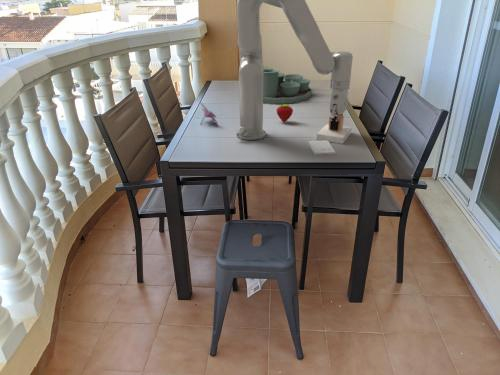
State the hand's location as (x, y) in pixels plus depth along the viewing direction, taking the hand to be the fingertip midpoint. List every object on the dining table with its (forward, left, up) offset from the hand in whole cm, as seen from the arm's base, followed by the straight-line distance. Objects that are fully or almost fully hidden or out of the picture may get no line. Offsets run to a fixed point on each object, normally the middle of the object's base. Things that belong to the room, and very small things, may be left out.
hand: (335, 127), depth 169 cm
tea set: (+50, +49, -4) cm, 70 cm away
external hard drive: (-17, 0, -4) cm, 18 cm away
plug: (0, 0, -3) cm, 3 cm away
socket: (-1, 0, -3) cm, 4 cm away
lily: (-10, +57, -4) cm, 58 cm away
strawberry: (+7, +26, -4) cm, 27 cm away
